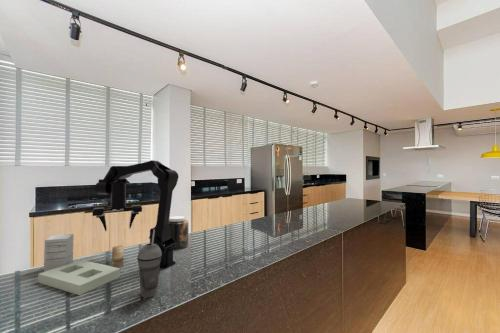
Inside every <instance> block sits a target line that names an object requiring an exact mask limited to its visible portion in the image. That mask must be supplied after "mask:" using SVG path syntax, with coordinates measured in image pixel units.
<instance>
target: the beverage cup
mask: <svg viewBox="0 0 500 333" xmlns="http://www.w3.org/2000/svg"><path fill="white" fill-rule="evenodd" d="M154 234H155V230H153V236H152V243H150V242H149V243H146V244H144V245H143V246H142V247H141V248H140V249H139V251H138V254H137V258H136V260H137V263H138V264H137V266H138V273H139V287H140V289H139V290H140V296H141V297H142V296H143V297H142V298H151V297H154V296H155V295H156V294H157V292H158V291H157V290H158V287H159V286H158V285H159V276H160V262H161V257H162V253H161V249H160V248H159V246H158V245H156V244H154V243H153V241H154Z"/></svg>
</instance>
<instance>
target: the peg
mask: <svg viewBox="0 0 500 333" xmlns="http://www.w3.org/2000/svg"><path fill="white" fill-rule="evenodd" d="M124 249H125V246H124V245H115V246H112V249H111V251H112V252H111V254H112V255H111V267H116V268H120V269H121V268H124V251H125V250H124Z"/></svg>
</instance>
